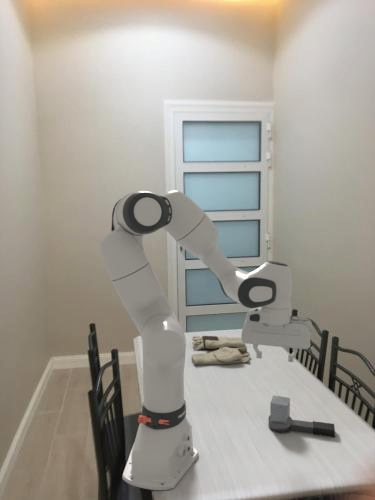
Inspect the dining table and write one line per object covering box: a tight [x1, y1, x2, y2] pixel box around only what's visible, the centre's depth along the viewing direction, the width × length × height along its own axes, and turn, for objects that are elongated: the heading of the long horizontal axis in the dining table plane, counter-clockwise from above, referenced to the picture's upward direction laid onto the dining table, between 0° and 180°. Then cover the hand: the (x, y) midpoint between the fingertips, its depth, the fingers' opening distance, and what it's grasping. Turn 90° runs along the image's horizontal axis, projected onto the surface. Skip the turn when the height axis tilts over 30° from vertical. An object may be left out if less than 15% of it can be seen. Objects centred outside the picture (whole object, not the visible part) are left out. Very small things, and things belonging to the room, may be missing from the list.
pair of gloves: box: [191, 335, 251, 366], centre depth 183 cm, size 30×26×5 cm
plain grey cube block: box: [269, 395, 291, 425], centre depth 122 cm, size 5×5×6 cm
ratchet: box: [268, 415, 336, 438], centre depth 121 cm, size 7×19×6 cm, turn 74°
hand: (274, 359), depth 122 cm, fingers open, 8 cm apart
